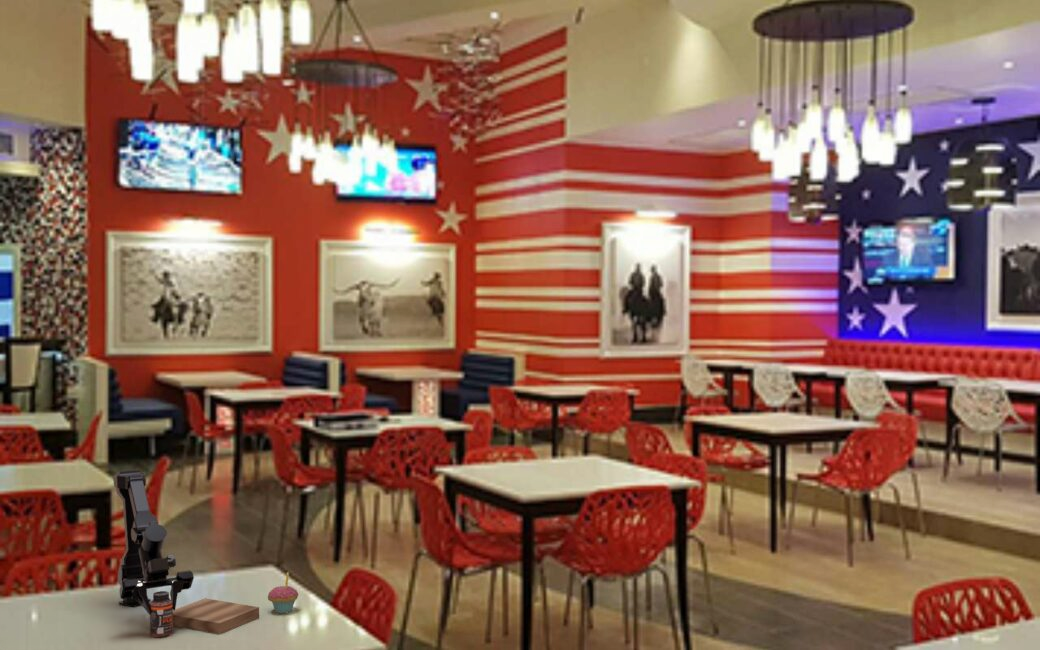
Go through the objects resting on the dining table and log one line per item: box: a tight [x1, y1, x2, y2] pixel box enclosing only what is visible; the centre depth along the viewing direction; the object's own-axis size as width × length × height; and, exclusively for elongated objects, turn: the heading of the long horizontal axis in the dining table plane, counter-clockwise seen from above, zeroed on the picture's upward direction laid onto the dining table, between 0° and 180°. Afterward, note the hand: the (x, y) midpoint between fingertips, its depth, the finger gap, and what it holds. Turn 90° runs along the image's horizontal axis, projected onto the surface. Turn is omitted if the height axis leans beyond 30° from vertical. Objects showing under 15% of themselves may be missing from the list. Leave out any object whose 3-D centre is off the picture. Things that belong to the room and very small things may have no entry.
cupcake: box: [267, 570, 299, 614], centre depth 309 cm, size 9×8×12 cm
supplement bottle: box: [149, 590, 174, 638], centre depth 289 cm, size 6×6×11 cm
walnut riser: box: [173, 597, 260, 635], centre depth 300 cm, size 20×16×3 cm
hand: (162, 611), depth 288 cm, fingers closed on supplement bottle, 6 cm apart
